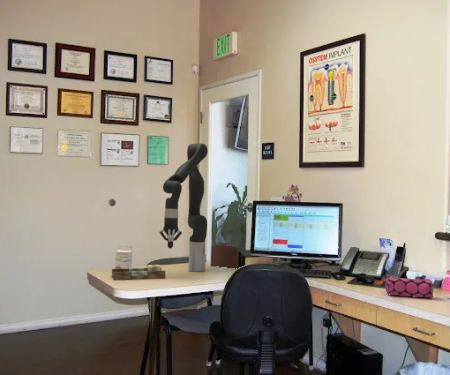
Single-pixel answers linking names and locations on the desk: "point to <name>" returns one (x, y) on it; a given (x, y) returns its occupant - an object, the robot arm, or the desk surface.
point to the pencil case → (409, 287)
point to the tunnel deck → (136, 274)
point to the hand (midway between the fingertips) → (170, 248)
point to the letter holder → (226, 256)
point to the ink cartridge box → (124, 257)
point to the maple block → (154, 268)
